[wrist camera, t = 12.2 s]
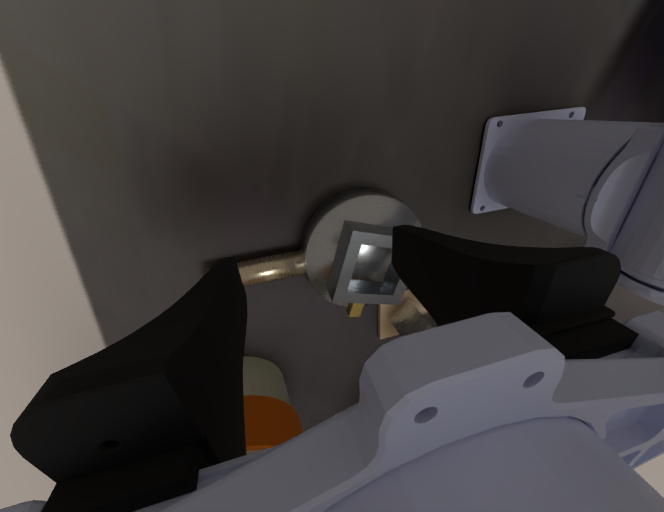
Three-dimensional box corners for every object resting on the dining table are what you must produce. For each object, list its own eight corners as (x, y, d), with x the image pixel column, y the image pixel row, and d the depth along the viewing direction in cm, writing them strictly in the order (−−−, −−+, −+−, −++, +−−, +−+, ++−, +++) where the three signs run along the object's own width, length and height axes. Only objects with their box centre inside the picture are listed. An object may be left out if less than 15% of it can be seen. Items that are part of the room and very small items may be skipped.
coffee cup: (520, 288, 33) (690, 403, 20) (590, 239, 32) (816, 328, 19) (534, 328, 38) (678, 440, 25) (595, 287, 37) (777, 382, 24)
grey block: (430, 311, 30) (475, 361, 24) (412, 330, 30) (451, 384, 24) (400, 292, 27) (441, 344, 21) (381, 313, 28) (415, 369, 22)
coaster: (431, 280, 28) (434, 283, 28) (426, 322, 31) (429, 326, 31) (378, 292, 27) (380, 296, 27) (378, 335, 30) (380, 339, 30)
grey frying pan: (412, 179, 22) (428, 186, 20) (405, 278, 27) (418, 293, 25) (188, 214, 19) (180, 227, 17) (227, 319, 24) (224, 339, 22)
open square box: (412, 230, 21) (426, 240, 20) (380, 311, 25) (389, 326, 23) (344, 220, 19) (353, 230, 18) (319, 309, 23) (325, 326, 21)
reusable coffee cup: (165, 349, 24) (68, 618, 11) (304, 337, 28) (348, 533, 15) (181, 432, 30) (128, 675, 17) (295, 414, 33) (322, 603, 21)
